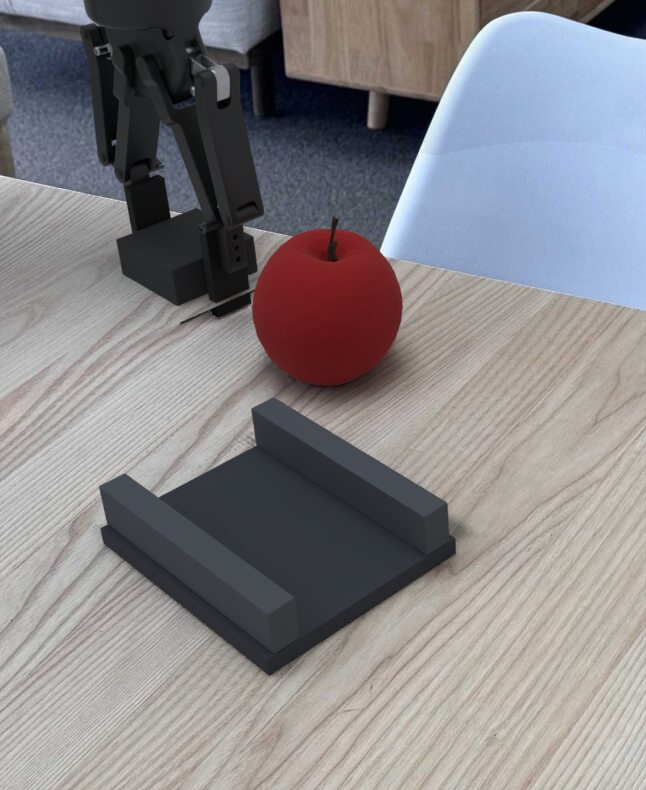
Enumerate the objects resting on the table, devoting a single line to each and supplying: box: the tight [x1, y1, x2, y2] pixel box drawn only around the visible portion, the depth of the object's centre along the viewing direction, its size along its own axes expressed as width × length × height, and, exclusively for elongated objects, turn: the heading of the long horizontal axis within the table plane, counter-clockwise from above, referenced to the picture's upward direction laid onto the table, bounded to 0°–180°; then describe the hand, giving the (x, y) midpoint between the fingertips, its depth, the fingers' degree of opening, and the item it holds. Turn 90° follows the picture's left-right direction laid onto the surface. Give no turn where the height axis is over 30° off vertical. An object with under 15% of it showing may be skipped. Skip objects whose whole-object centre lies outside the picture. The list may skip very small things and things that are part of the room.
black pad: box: [115, 207, 259, 325], centre depth 94 cm, size 6×6×4 cm
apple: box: [251, 215, 404, 387], centre depth 84 cm, size 9×9×10 cm
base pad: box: [98, 397, 457, 676], centre depth 71 cm, size 14×12×4 cm
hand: (194, 287), depth 95 cm, fingers open, 8 cm apart
